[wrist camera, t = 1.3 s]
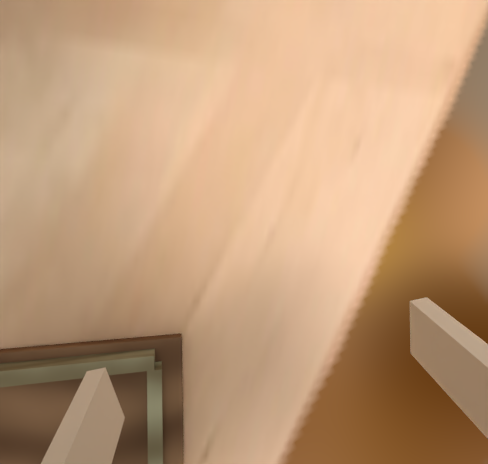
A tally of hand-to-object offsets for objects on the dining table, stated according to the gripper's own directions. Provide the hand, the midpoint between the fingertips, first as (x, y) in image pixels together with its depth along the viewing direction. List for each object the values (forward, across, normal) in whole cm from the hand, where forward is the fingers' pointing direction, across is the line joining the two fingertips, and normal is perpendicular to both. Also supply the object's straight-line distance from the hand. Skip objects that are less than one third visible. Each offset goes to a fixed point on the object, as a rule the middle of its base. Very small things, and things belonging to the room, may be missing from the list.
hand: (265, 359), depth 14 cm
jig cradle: (+12, -17, -14) cm, 25 cm away
